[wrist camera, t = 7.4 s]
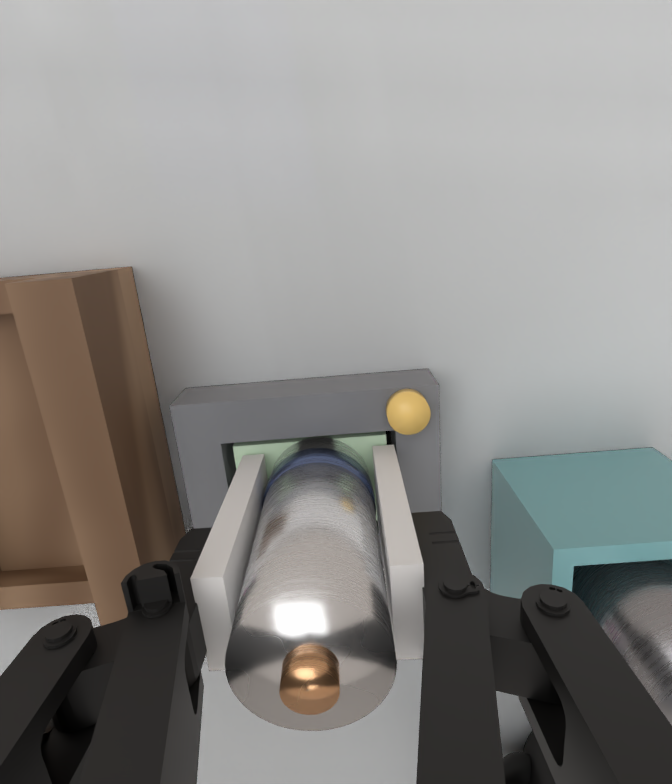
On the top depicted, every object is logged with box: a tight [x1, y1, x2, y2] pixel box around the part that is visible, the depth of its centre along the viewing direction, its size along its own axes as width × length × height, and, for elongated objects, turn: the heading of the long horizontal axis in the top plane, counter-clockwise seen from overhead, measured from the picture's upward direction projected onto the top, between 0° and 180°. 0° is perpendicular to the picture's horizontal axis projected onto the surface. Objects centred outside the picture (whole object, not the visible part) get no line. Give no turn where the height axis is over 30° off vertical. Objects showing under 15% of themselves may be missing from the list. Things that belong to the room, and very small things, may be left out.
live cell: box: [225, 437, 397, 731], centre depth 14 cm, size 4×4×9 cm
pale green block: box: [233, 431, 387, 520], centre depth 19 cm, size 5×3×2 cm, turn 95°
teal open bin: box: [490, 447, 672, 599], centre depth 18 cm, size 6×6×6 cm
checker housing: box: [169, 369, 442, 568], centre depth 18 cm, size 9×7×3 cm
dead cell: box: [572, 559, 672, 725], centre depth 16 cm, size 4×4×9 cm
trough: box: [0, 267, 186, 626], centre depth 17 cm, size 9×12×4 cm
